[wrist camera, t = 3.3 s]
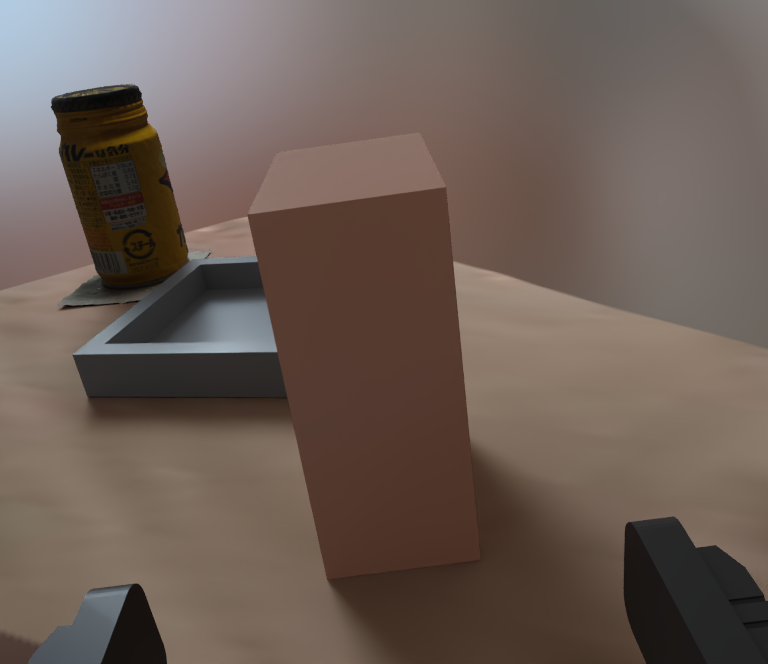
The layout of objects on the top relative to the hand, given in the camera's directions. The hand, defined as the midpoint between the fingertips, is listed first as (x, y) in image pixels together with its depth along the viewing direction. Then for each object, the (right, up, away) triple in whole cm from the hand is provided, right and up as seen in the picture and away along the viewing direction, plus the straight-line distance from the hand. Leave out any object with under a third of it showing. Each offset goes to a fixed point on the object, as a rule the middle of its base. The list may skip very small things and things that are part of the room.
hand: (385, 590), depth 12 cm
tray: (-7, +4, +25) cm, 26 cm away
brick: (0, -1, +12) cm, 12 cm away
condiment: (-16, +8, +36) cm, 40 cm away
